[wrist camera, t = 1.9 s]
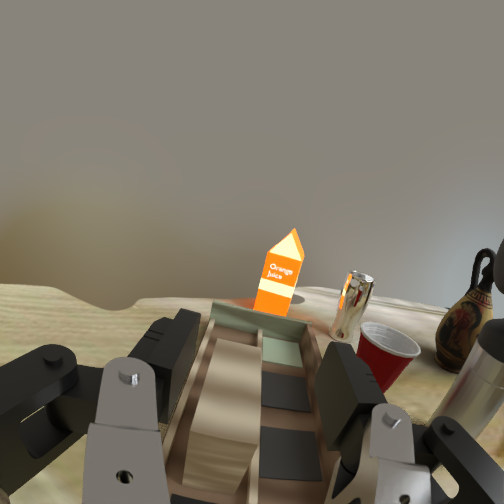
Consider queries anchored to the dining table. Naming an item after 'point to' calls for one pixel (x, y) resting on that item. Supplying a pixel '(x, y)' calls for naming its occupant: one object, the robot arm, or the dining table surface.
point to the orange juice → (280, 276)
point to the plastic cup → (385, 352)
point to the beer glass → (351, 305)
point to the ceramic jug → (466, 318)
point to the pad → (281, 352)
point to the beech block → (225, 420)
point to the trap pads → (287, 433)
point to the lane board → (251, 333)
